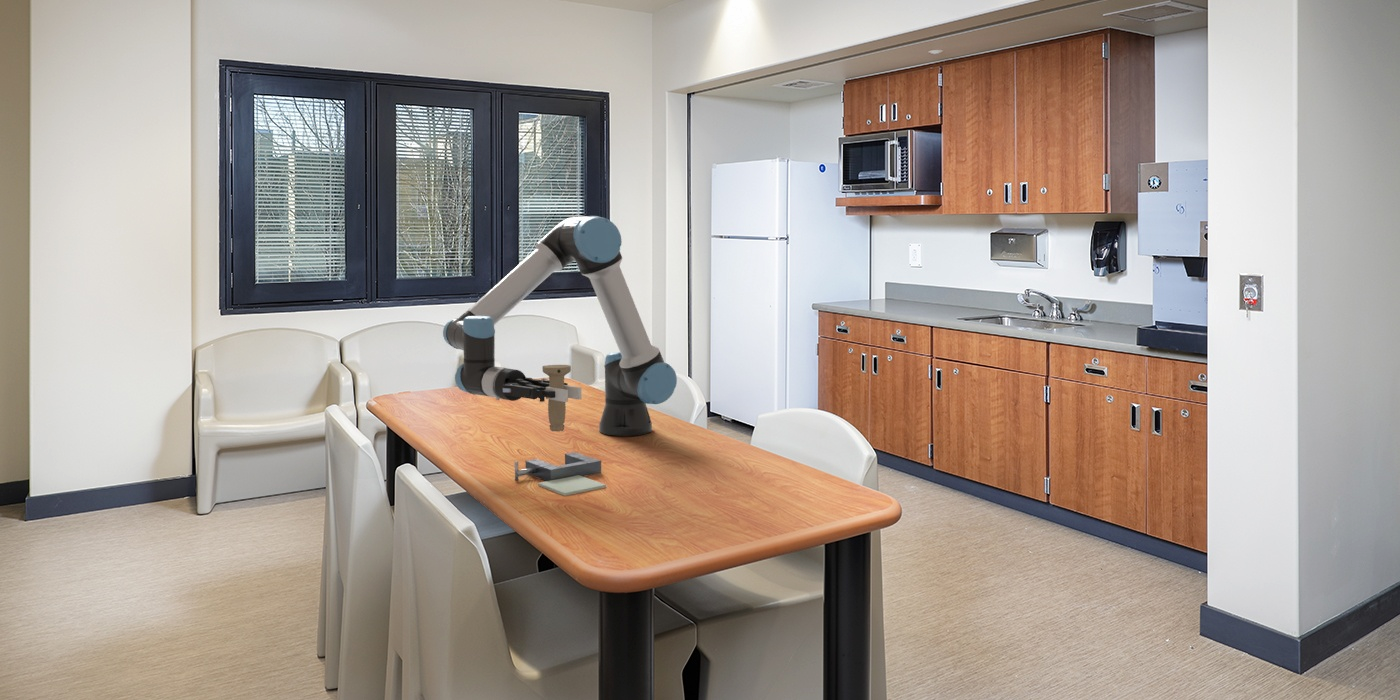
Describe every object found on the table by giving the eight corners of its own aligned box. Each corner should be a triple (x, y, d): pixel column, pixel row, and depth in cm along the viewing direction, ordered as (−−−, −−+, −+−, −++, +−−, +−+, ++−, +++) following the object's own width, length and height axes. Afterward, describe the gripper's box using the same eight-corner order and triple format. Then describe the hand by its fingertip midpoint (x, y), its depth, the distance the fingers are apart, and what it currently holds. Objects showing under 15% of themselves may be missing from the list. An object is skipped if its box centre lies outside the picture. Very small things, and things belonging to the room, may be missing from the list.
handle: (573, 431, 222) (572, 367, 220) (545, 433, 219) (545, 368, 217) (568, 427, 226) (567, 364, 224) (541, 429, 224) (540, 365, 222)
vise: (575, 464, 238) (575, 446, 238) (601, 472, 230) (601, 454, 229) (505, 476, 226) (505, 458, 225) (530, 486, 217) (529, 467, 217)
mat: (579, 477, 225) (578, 475, 225) (606, 487, 217) (606, 484, 217) (538, 485, 218) (538, 482, 218) (564, 495, 210) (564, 493, 210)
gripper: (531, 394, 239) (599, 406, 225) (478, 403, 227) (546, 416, 212) (531, 364, 239) (599, 374, 224) (477, 372, 226) (546, 382, 211)
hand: (573, 394), depth 218 cm, fingers closed on handle, 3 cm apart
